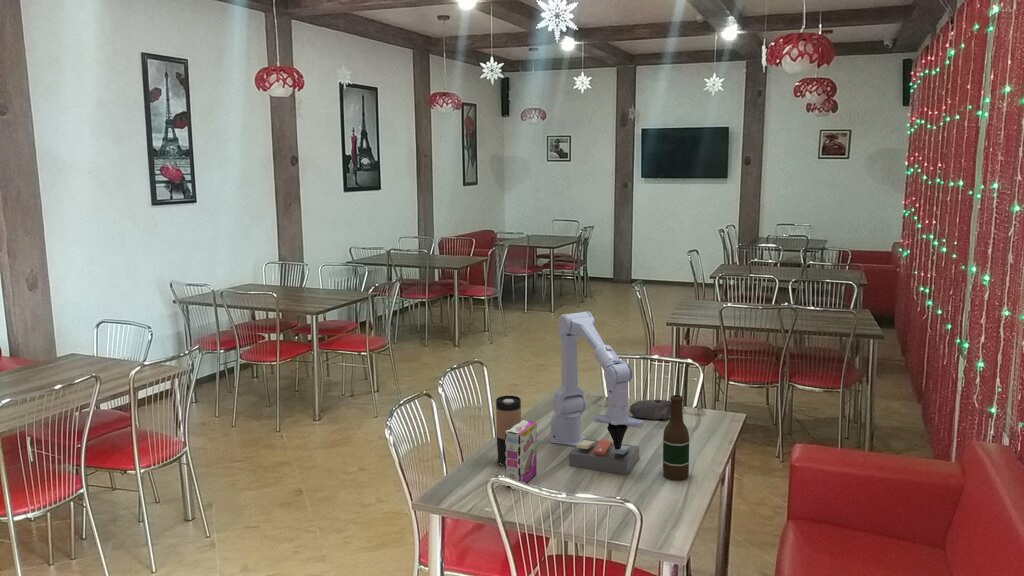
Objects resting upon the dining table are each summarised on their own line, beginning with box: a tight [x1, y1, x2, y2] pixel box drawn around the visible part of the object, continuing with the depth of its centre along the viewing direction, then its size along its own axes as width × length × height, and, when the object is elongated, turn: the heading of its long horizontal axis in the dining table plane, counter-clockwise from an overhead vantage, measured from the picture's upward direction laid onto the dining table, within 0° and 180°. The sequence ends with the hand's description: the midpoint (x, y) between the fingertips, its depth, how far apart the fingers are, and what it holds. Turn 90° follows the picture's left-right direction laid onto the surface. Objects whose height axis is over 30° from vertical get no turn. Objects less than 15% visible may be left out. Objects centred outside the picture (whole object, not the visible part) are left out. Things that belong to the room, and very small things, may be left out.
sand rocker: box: [575, 440, 595, 449], centre depth 231 cm, size 4×7×1 cm, turn 155°
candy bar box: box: [505, 419, 538, 484], centre depth 217 cm, size 11×5×16 cm, turn 152°
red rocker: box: [593, 439, 613, 456], centre depth 228 cm, size 4×7×1 cm, turn 155°
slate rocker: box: [612, 445, 630, 454], centre depth 226 cm, size 4×7×1 cm, turn 155°
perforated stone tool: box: [629, 399, 671, 421], centre depth 267 cm, size 15×5×7 cm, turn 74°
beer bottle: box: [662, 394, 690, 481], centre depth 218 cm, size 8×8×24 cm
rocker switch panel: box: [568, 438, 640, 476], centre depth 230 cm, size 18×13×4 cm
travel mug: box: [495, 395, 522, 466], centre depth 231 cm, size 8×8×20 cm
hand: (617, 448), depth 223 cm, fingers closed
